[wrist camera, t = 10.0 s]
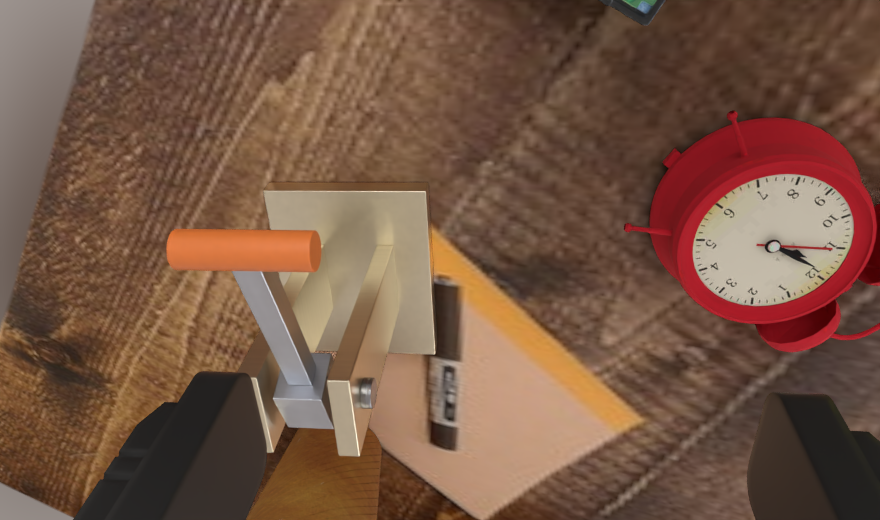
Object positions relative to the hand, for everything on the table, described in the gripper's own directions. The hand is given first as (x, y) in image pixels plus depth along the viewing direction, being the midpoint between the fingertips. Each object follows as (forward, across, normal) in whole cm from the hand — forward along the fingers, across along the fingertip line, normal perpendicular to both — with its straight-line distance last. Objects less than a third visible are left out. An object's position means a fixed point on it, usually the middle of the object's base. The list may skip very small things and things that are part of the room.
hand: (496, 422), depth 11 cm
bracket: (+26, +9, +13) cm, 31 cm away
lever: (+15, +9, +8) cm, 19 cm away
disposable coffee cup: (+26, +12, +28) cm, 40 cm away
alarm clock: (+26, -14, +10) cm, 31 cm away
